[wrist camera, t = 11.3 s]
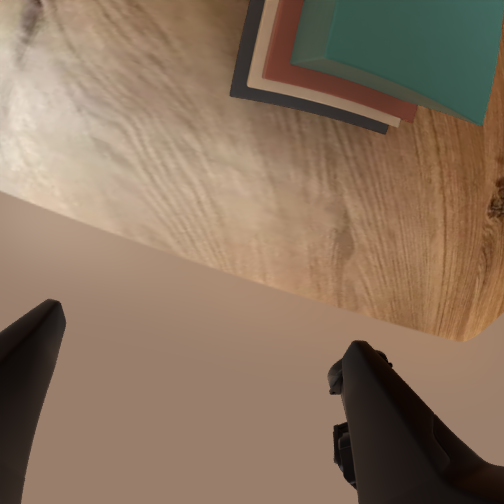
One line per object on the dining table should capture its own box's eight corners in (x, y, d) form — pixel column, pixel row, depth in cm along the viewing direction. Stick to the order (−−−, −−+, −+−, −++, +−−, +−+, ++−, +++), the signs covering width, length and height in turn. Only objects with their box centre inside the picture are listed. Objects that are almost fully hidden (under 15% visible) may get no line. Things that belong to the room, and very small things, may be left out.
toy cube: (404, 101, 10) (482, 127, 6) (288, 64, 10) (323, 57, 5) (425, 3, 8) (505, -9, 3) (313, -43, 7) (355, -97, 3)
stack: (369, 127, 18) (426, 158, 12) (230, 93, 16) (224, 104, 10) (398, 7, 13) (463, -8, 7) (259, -36, 12) (270, -86, 6)
